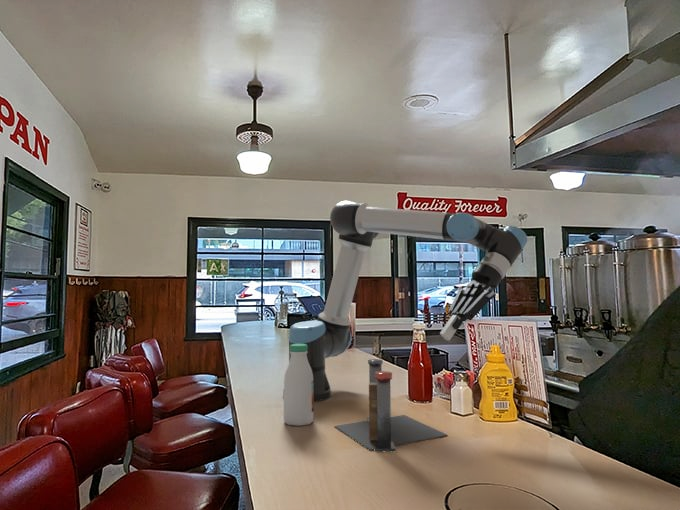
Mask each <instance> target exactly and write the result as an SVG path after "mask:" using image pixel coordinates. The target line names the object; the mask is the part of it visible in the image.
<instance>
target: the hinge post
mask: <svg viewBox="0 0 680 510" xmlns="http://www.w3.org/2000/svg"><path fill="white" fill-rule="evenodd" d="M383 361H384V360H383V359H377V358H375V359H373V358H371V359H368V360H367V364H368V366H369V368H368V369H369V375H368V377H369V381H368V382H369V383H377V379H375V372H379V371H383V370H382V365H383V363H384V362H383ZM369 383H368V384H369ZM366 421H368V423H369V416H367V417H366Z"/></svg>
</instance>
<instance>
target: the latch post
mask: <svg viewBox="0 0 680 510" xmlns="http://www.w3.org/2000/svg"><path fill="white" fill-rule="evenodd" d="M375 379H377V442H373V444H374V448H375V450H374V452H375V451H389V452H388V453H391V452H390V451H392V452H394V451H395V452H396V451H397V450H396V449H397V448H396V446H394V443H393V442H391V417H392V413H391V411H392V409H391V408H392V407H391V406H392V405H391V403H392V401H391V399H392V398H391V397H392V396H391V380H392V379H393V372H391V371H385V370H382V371H379V372H375Z"/></svg>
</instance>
